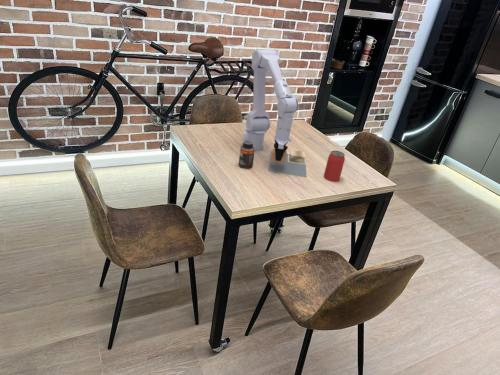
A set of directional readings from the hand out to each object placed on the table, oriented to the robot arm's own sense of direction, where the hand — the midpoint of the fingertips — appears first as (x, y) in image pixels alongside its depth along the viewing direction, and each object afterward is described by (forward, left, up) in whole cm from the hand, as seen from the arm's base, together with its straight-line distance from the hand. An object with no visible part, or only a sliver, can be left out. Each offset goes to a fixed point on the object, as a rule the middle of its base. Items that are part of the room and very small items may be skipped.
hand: (278, 158), depth 157 cm
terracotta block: (0, 0, -1) cm, 1 cm away
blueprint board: (+5, +5, -5) cm, 9 cm away
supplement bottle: (-13, -3, -5) cm, 14 cm away
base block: (+9, +11, -4) cm, 14 cm away
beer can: (+23, -2, -5) cm, 24 cm away
